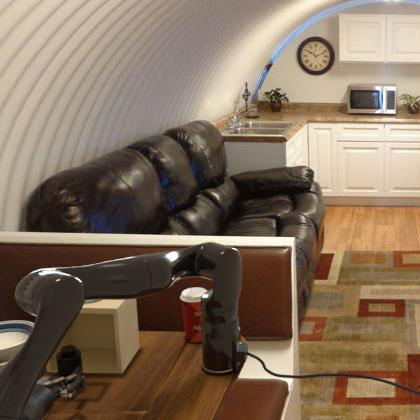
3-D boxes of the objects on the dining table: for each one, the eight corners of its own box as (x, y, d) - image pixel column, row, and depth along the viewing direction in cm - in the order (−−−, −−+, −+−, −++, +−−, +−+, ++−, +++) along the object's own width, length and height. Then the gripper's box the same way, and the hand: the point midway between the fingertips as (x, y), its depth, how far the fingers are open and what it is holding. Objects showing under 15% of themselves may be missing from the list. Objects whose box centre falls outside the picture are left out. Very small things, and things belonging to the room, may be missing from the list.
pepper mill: (88, 384, 153) (84, 343, 150) (78, 396, 148) (74, 354, 145) (65, 384, 152) (61, 342, 149) (55, 396, 147) (51, 353, 144)
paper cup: (202, 346, 174) (200, 299, 170) (176, 342, 176) (174, 295, 172) (215, 333, 182) (214, 288, 178) (191, 329, 183) (189, 284, 179)
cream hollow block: (139, 350, 170) (135, 286, 165) (122, 376, 158) (117, 307, 152) (70, 349, 169) (63, 284, 164) (47, 375, 156) (39, 306, 151)
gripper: (59, 395, 128) (92, 355, 144) (-15, 393, 127) (27, 353, 143) (62, 427, 130) (94, 384, 146) (-10, 426, 129) (30, 383, 145)
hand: (61, 369), depth 144 cm, fingers open, 8 cm apart
